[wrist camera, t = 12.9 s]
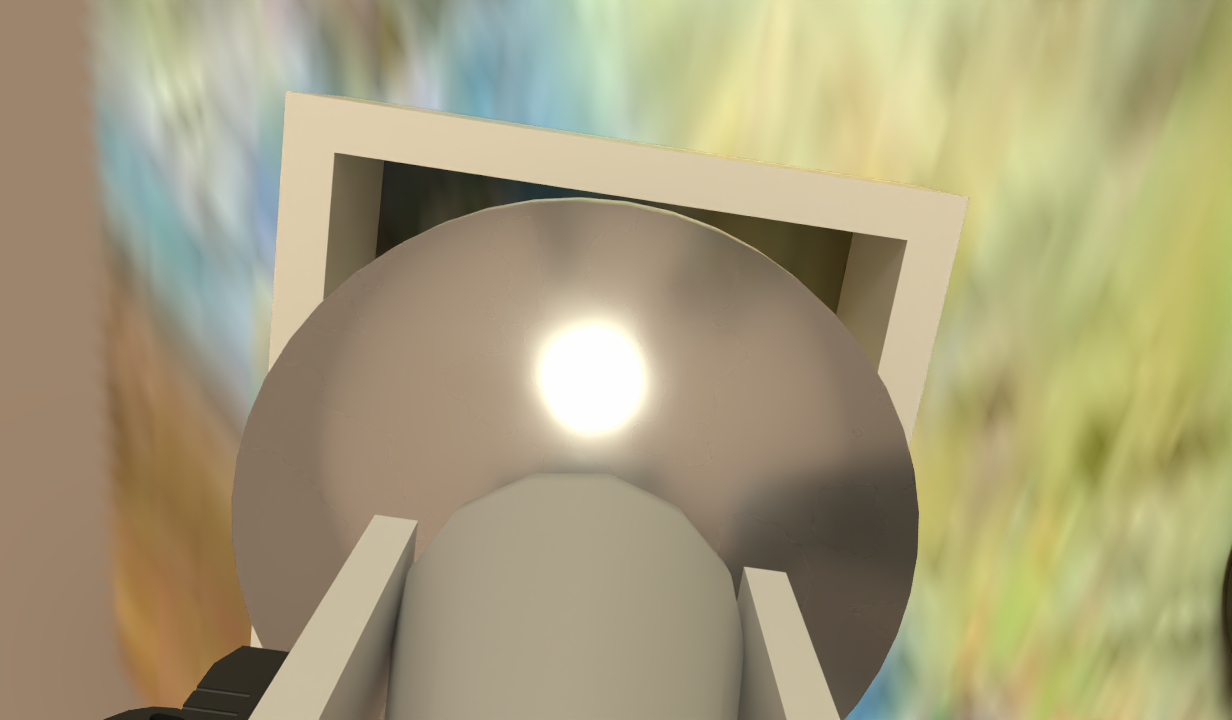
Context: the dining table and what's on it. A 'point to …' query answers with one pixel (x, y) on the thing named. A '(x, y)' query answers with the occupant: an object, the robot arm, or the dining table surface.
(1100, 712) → the dining table surface
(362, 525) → the grey shiny rounded piece
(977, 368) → the dining table surface
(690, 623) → the salt shaker
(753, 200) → the square open box
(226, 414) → the dining table surface
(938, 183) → the dining table surface
